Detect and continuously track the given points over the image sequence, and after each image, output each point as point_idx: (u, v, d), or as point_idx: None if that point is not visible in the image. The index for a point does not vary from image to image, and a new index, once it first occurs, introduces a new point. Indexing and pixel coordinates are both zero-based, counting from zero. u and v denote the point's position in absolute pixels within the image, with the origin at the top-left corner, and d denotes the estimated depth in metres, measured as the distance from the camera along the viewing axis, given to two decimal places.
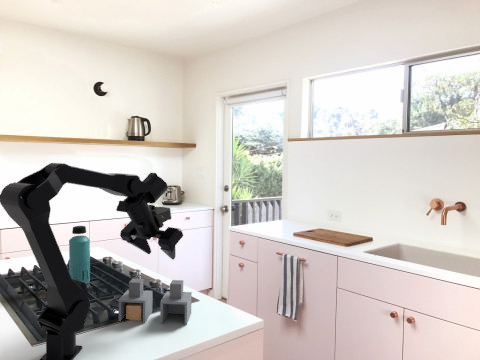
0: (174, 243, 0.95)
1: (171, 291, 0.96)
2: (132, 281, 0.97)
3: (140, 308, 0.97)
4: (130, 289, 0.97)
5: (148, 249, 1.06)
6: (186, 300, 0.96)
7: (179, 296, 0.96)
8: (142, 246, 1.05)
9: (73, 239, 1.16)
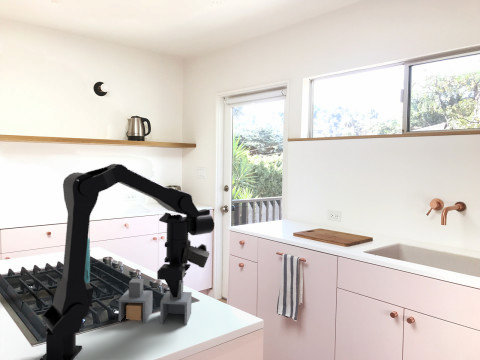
0: (163, 276, 0.88)
1: None
2: (132, 281, 0.97)
3: (140, 308, 0.97)
4: (130, 289, 0.97)
5: None
6: (186, 300, 0.96)
7: (179, 296, 0.96)
8: None
9: None
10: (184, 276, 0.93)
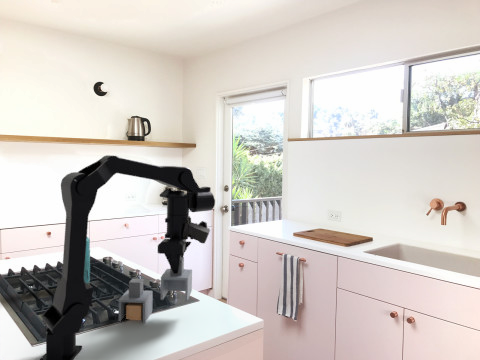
0: (164, 250, 0.88)
1: None
2: (132, 281, 0.97)
3: (140, 308, 0.97)
4: (130, 289, 0.97)
5: None
6: (187, 276, 0.95)
7: (179, 272, 0.96)
8: None
9: None
10: (184, 251, 0.92)
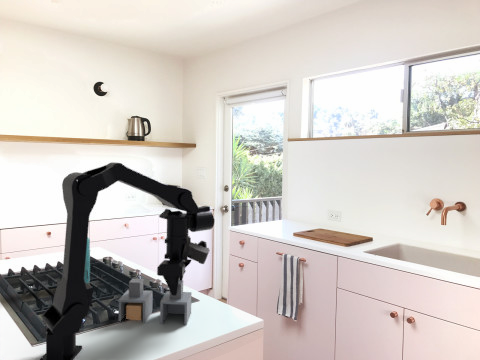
0: (164, 272, 0.88)
1: None
2: (132, 281, 0.97)
3: (140, 308, 0.97)
4: (130, 289, 0.97)
5: None
6: (186, 300, 0.96)
7: (179, 296, 0.96)
8: None
9: None
10: (183, 274, 0.92)
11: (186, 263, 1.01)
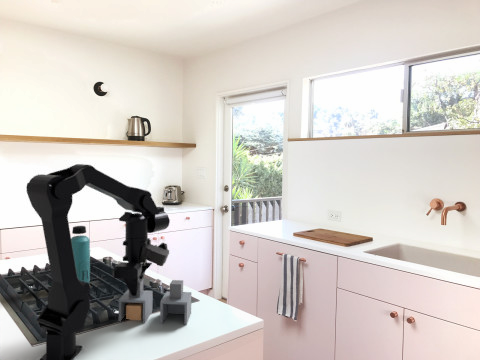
0: (119, 275, 0.88)
1: (171, 291, 0.96)
2: None
3: (140, 308, 0.97)
4: None
5: None
6: (186, 300, 0.96)
7: (179, 296, 0.96)
8: None
9: (73, 239, 1.16)
10: (141, 274, 0.93)
11: (145, 266, 1.00)
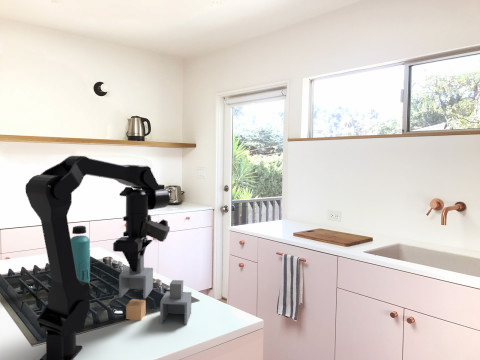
0: (119, 248, 0.88)
1: (171, 291, 0.96)
2: None
3: (140, 308, 0.97)
4: None
5: None
6: (186, 300, 0.96)
7: (179, 296, 0.96)
8: None
9: (73, 239, 1.16)
10: (142, 249, 0.93)
11: (146, 243, 1.00)
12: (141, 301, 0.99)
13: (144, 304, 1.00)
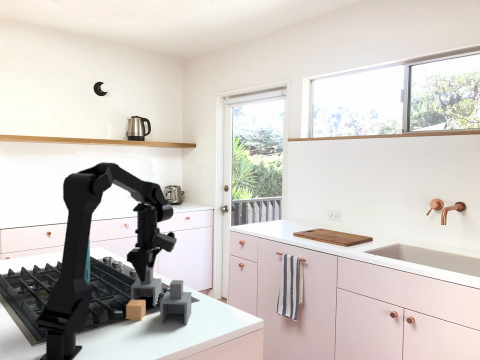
0: (132, 259, 0.98)
1: (171, 291, 0.96)
2: None
3: (140, 308, 0.97)
4: None
5: None
6: (186, 300, 0.96)
7: (179, 296, 0.96)
8: None
9: None
10: (150, 262, 1.01)
11: (157, 251, 1.12)
12: (141, 301, 0.99)
13: (144, 304, 1.00)
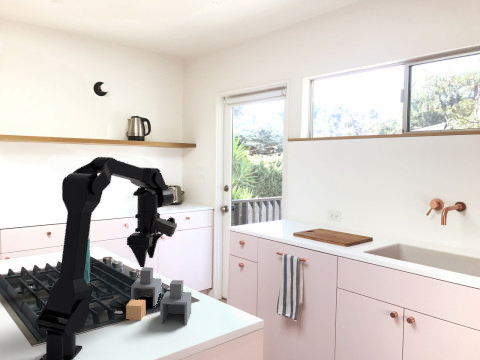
0: (132, 243, 0.98)
1: (171, 291, 0.96)
2: (143, 269, 1.07)
3: (140, 308, 0.97)
4: (141, 276, 1.07)
5: (151, 253, 1.12)
6: (186, 300, 0.96)
7: (179, 296, 0.96)
8: None
9: None
10: (149, 246, 1.00)
11: (158, 236, 1.12)
12: (141, 301, 0.99)
13: (144, 304, 1.00)
